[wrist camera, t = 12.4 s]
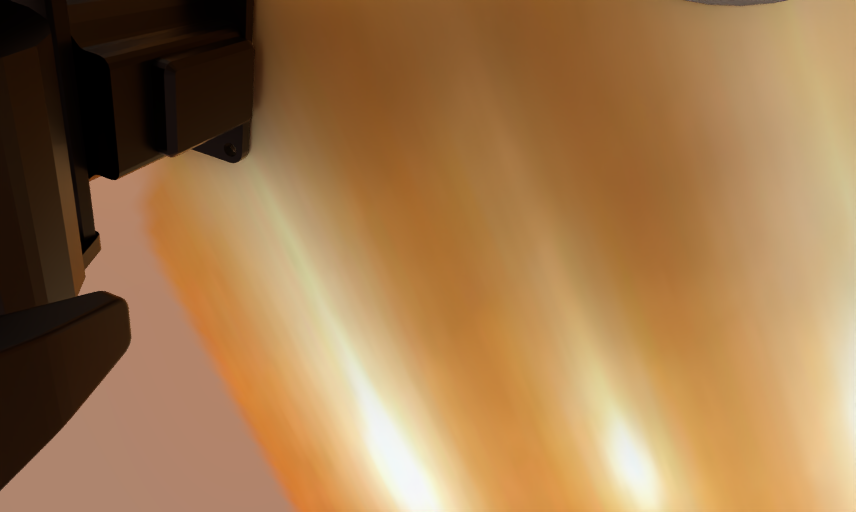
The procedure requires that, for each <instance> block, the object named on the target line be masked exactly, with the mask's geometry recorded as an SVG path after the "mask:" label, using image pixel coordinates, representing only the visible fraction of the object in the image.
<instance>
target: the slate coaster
mask: <svg viewBox="0 0 856 512" xmlns="http://www.w3.org/2000/svg"><path fill="white" fill-rule="evenodd" d="M687 1H692V2H698V3H703V4H711V5H735V6H744V5H755V4H767V3H776V2H781V1H786V0H687Z"/></svg>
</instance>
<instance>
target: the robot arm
mask: <svg viewBox="0 0 856 512" xmlns="http://www.w3.org/2000/svg"><path fill="white" fill-rule="evenodd" d="M253 6H254V0H0V491H1V490H2V489H3V488H4V487H5V486H6V485H7V484H8V483H9V481H10V480H11V479H12V478H14V477H15V475H16V474H17V473H18V472H20V470H22V469H23V468H24V466H26V464H27V463H28V462H29V461H30V460H31V459H32V458H33V457H34V456H35V455H36V454H37V453H38V452H39V451H40V450H41V449H42V448H43V447H44V446H45V445H46V444H47V443H48V442H49V441H50V440H51V439H52V438H53V437H54V436H55V435H56V434H57V433H58V432H59V431H60V430H61V429H62V428H63V427H64V425H65V424H66V423H67V422H68V421H69V420H70V419H71V418H72V416H73V415H74V414H75V413H76V412H77V410H78V409H79V408H80V407H81V406H82V404H83V403H84V402H85V401H86V400H87V398H88V397H89V396H90V395H91V393H92V392H93V391H94V390H95V389H96V387H97V386H98V385H99V384H100V383H101V381H102V380H103V379H104V378H105V377H106V375H107V374H108V373H109V372H110V370H111V369H112V368H113V367H114V365H115V364H116V363H117V362H118V361H119V360H120V358H121V357H122V356H123V355H124V353H125V352H126V351H127V349H128V347H129V345H130V341H131V328H130V319H129V307H128V304H127V302H126V301H125V299H123V298H121V297H119V296H116V295H114V294H111V293H109V292H106V291H97V292H93V293H89V294H85V295H81V296H78V294H79V291H80V289H81V286H82V284H83V282H84V279H85V269H86V268H87V266H88V265H89V264H90V263H91V261H92V260H93V259H94V258H95V256H96V255H97V254H98V253H99V252H100V250H101V244H100V236H99V233H98V232H97V231H95V227H94V218H93V210H92V202H91V194H90V186H89V181H91V180H94V179H95V178H98V177H100V176H103V177H105V178H108V179H111V180H117V179H119V178H121V177H123V176H125V175H127V174H130V173H132V172H134V171H136V170H138V169H140V168H142V167H144V166H146V165H149V164H151V163H153V162H155V161H157V160H159V159H161V158H163V157H166V156H168V157H176V156H178V155H180V154H182V153H184V152H186V151H188V150H190V149H192V150H195V151H198V152H201V153H204V154H207V155H210V156H213V157H216V158H219V159H221V160H224V161H227V162H231V163H236V162H239V161H240V160H242V159H244V158H245V157H246V156H247V155H248V150H249V121H250V119H251V118H252V107H253V81H254V54H255V50H254V47H253V44H252V35H253ZM230 144H232V145H234V147H235V148H236V152H234V151H233V150H232V148H231V145H230Z"/></svg>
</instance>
